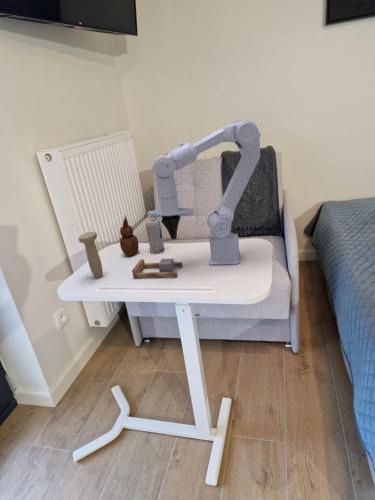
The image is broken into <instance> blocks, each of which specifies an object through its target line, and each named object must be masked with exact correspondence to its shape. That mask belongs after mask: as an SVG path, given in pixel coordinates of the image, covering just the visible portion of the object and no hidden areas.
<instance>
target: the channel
mask: <svg viewBox="0 0 375 500" xmlns="http://www.w3.org/2000/svg"><path fill="white" fill-rule="evenodd" d="M158 264H159V262H146V263H145V259H139V261H138V262H137V264H135V266H134V267H133V269H131V272H132V277H133V280H141V279H146V280H147V279H177V278H178V272H177V271H174V272H160V271H155V272H154V271H152V272H143V271H145V270H147V269H159V265H158ZM174 265H175V269H181V268H183V262H182V261H177V262H176V261H174Z"/></svg>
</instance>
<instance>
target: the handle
mask: <svg viewBox="0 0 375 500" xmlns="http://www.w3.org/2000/svg"><path fill="white" fill-rule="evenodd" d="M97 237H98V233H97V231H88V232H85V233H83V234H81V235H80V236H78V242H79V243H82V244H84V248H85V253H86V256H87V262H88V266H89V269H90V271H91V273H92V275H93V278H94V279H100V278H102V277H103V275H104V273H103V272H104V271H103V265H102V261H101V257H100V254H99V250H98V248H97V245H96V242H95V240H96V239H97Z"/></svg>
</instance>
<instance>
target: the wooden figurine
mask: <svg viewBox="0 0 375 500" xmlns="http://www.w3.org/2000/svg"><path fill="white" fill-rule="evenodd" d="M119 233H120V236H121V238H120V239H119V245H120V246H119V247H120V249H121V251H122V253H123V254H124V255H125V256H127V257H131V256H134V255H136V254H137V253H138V252H139V249H140V247H139V246H140V245H139V240H138V237H137V236H136V235H135V234H134V229H133V227H132V226H131V225H129V222H128V218H127V215H126V214H125V215H124V217H123V222H122V226H121V227H120V229H119Z"/></svg>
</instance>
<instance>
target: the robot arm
mask: <svg viewBox="0 0 375 500" xmlns="http://www.w3.org/2000/svg"><path fill="white" fill-rule="evenodd" d="M260 139H261V132H260V130H259V128H258V126H257V124H256V123H255V122H254V121H252V120H236V121H234V122H233V123H228V124H226V125H224V126H221V127H220V128H218V129H216V130H215V131H213V132H212V133H209V134H208V135H206V136H204V137H202V138H201V139H200V140H198V141H196V142H195V143H191V142H185V143H184V142H181V143H179V144H178V146H177V147H176V148H174V149H172V150H169V151H168V150H167V151H165V152H164V155H160V156H158V157H157V158H155V160H154V162H153V163H154V164H153V171H154V173H155V181H156V190H157V196H158V201H159V202H158V203H159V207H160V209H156V210H149V211H147V218H148V220H150V219H157V218H161V224H163V226H164V227H165V228H166V231H167V232H168V234H169V236H170V239H171V240H176V239H177V237H178V228H179V223H180V220H181V217H186V216H187V217H194V215H195V213H194V212H195V211H194V208H190V207H189V208H188V207H187V208H183V207H180V206H179V199H178V192H177V183H176V180H175V177H174V176H175V175H174V172H175V171H179V170H181V169H182V168H184V167H186V166H188V165H190V164H192V163H194V162H195V161H197V159H198V158H197V157H199V156H198V155H200V154H201V153H204V152H205V151H207V150H210V149H211V148H213V147H216V146H218V145H219V144H221V143H234V144H236V145H235V146H237V148H238V151H239V153H240V156H241V157H240V159H239V161H238V163H237V166H236V168H235V170H234V172H233V175H232V176H231V178H230V181H229V182H228V184H227V187H226V189H225V192H224V194H223V196H222V198H221V200H220V202H219V203H218V204H217V205H216V207H215V208H214V210H213V211H212V212H211V213H210V214H209V215H208V217H207V219H206V221H207V222H206V223H207V225H208V228H209V229H210V232H209V233H208V240H209V247H210V259H209V262H208V265H209V266H212V265H213V266H217V265H221V266H222V265H238V264H239V261H240V255H241V250H240V243H239V235H238V233H232V232H231V231H232V224H233V221H234V216H235V210H236V208H237V205H238V204H239V202H240V200H241V198H242V195H243V194H244V192H245V189H246V187H247V185H248V183H249V181H250V179H251V177H252V175H253V173H254V170H255V169H256V167H257V164H259V163H258V162H259V160H260V157H261V146H260V145H261V143H260V141H261V140H260Z"/></svg>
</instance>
